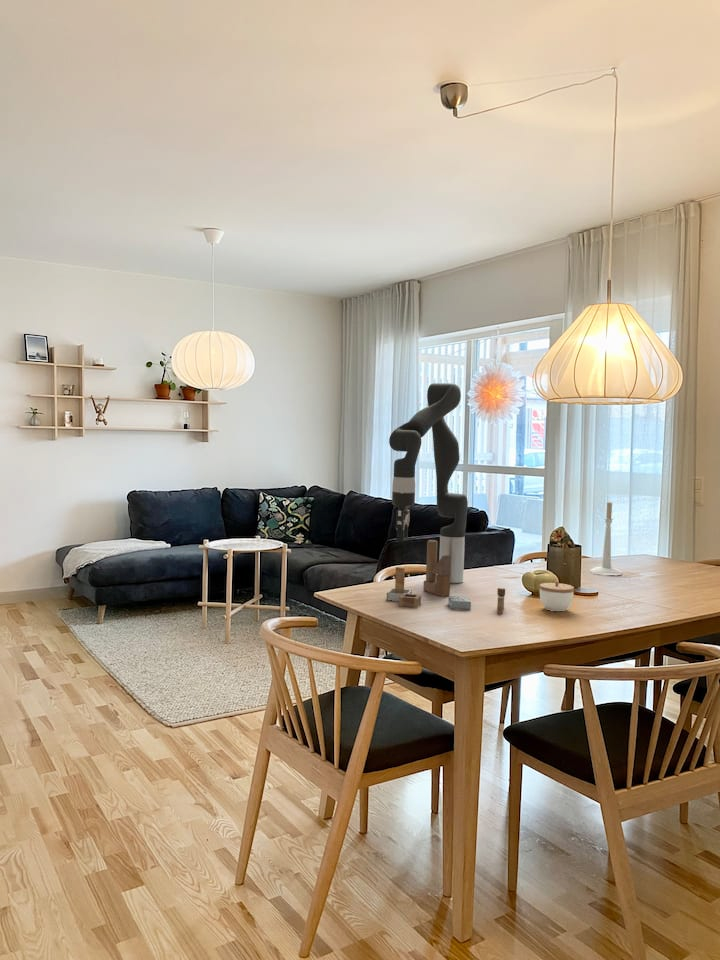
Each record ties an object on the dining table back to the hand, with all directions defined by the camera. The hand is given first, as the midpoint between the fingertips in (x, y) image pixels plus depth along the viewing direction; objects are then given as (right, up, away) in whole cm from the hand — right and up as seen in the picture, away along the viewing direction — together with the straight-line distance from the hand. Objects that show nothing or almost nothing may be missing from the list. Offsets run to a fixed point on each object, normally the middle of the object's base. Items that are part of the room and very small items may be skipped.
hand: (402, 539), depth 247 cm
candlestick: (+88, -19, +62) cm, 109 cm away
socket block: (+2, -21, -7) cm, 22 cm away
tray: (-1, -20, +1) cm, 20 cm away
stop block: (+31, -22, -11) cm, 39 cm away
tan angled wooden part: (+13, -20, +12) cm, 26 cm away
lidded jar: (+49, -22, -7) cm, 54 cm away
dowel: (-1, -19, +1) cm, 19 cm away
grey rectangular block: (+18, -21, -8) cm, 29 cm away
